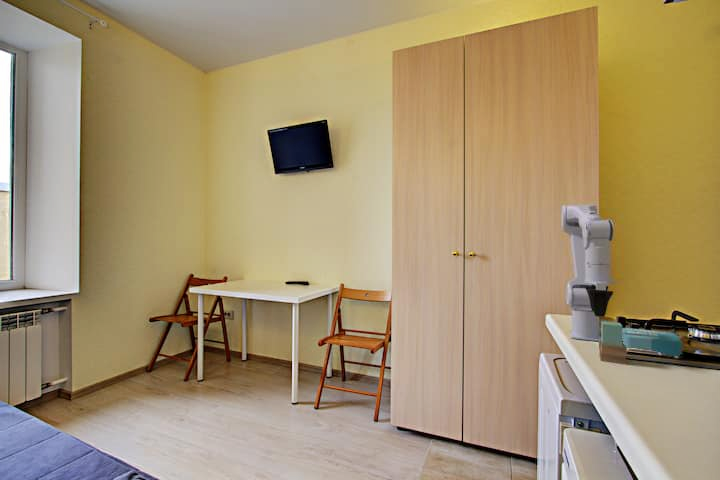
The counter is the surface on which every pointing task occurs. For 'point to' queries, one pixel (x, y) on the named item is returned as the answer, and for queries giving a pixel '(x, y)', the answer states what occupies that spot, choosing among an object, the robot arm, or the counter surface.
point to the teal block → (611, 333)
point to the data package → (652, 341)
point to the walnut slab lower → (613, 358)
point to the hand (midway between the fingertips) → (598, 313)
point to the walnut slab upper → (613, 349)
